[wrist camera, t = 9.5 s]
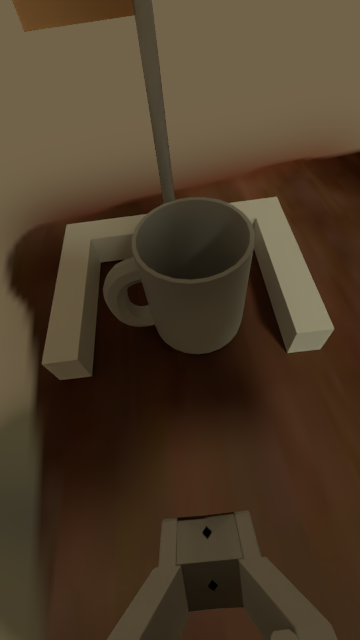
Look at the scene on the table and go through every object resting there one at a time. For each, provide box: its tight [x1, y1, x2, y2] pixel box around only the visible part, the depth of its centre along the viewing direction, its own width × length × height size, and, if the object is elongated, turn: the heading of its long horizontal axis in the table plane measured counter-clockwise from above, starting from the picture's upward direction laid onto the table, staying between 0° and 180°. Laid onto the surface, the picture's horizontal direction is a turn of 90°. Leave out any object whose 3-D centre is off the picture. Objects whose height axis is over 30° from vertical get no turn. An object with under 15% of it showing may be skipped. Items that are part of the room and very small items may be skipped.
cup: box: [103, 197, 255, 354], centre depth 21 cm, size 7×10×9 cm
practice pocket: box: [12, 0, 334, 380], centre depth 18 cm, size 14×20×21 cm
